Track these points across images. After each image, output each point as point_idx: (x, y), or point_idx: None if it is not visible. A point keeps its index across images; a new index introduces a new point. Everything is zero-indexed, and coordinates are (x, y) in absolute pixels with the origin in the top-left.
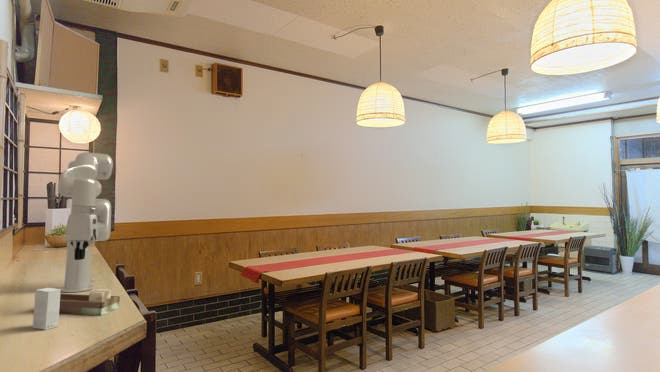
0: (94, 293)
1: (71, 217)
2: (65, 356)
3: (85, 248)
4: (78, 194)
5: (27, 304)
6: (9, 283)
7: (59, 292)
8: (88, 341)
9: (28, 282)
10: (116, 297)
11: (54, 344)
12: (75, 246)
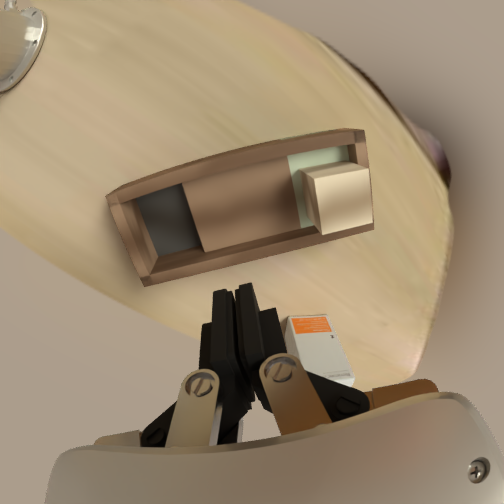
0: (341, 228)
1: None
2: (416, 360)
3: (292, 366)
4: None
5: (56, 223)
6: None
7: (352, 374)
8: (419, 327)
9: None
10: (365, 148)
11: (384, 353)
12: (230, 428)
